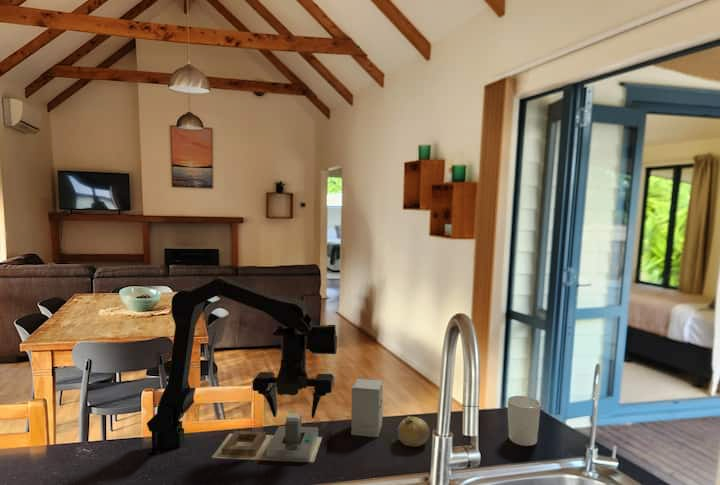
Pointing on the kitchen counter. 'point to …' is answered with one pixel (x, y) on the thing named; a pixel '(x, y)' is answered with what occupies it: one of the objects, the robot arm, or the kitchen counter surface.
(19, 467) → the kitchen counter surface
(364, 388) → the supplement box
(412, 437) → the onion
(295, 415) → the plug
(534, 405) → the white cup
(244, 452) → the brown rectangular frame
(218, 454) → the board
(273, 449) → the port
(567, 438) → the kitchen counter surface
